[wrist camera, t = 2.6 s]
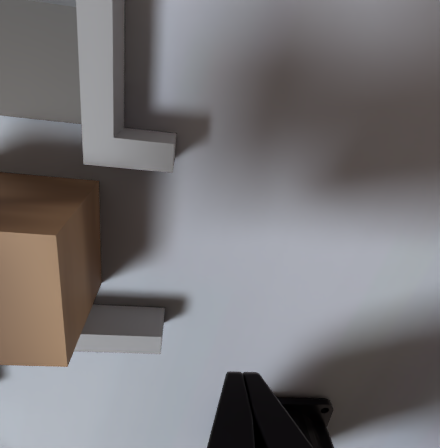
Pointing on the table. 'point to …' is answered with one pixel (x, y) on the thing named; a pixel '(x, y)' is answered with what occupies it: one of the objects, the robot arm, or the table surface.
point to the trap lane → (83, 119)
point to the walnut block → (46, 266)
